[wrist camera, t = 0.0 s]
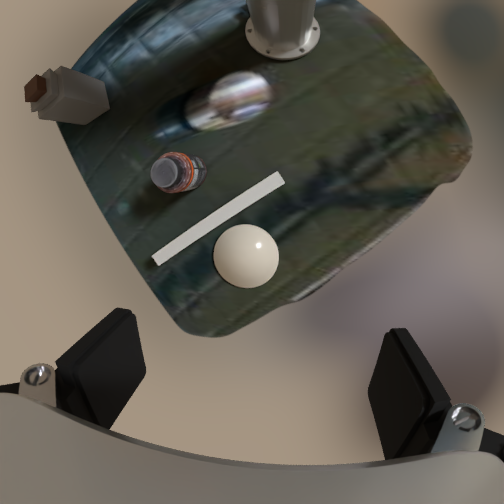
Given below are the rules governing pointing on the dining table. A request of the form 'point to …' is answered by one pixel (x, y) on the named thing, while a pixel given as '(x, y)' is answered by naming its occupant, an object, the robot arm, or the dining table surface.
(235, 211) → the low wall
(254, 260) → the resting pad
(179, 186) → the supplement bottle
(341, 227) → the dining table surface
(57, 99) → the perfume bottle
